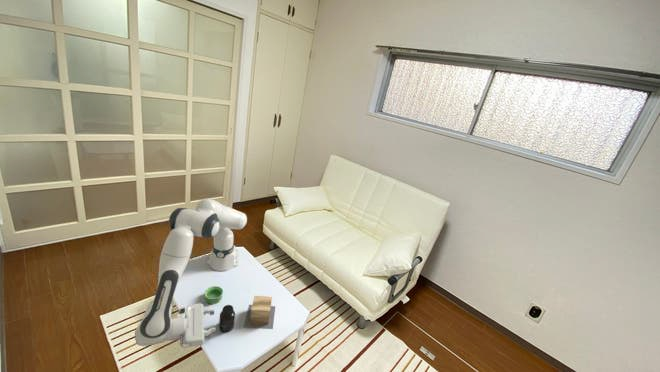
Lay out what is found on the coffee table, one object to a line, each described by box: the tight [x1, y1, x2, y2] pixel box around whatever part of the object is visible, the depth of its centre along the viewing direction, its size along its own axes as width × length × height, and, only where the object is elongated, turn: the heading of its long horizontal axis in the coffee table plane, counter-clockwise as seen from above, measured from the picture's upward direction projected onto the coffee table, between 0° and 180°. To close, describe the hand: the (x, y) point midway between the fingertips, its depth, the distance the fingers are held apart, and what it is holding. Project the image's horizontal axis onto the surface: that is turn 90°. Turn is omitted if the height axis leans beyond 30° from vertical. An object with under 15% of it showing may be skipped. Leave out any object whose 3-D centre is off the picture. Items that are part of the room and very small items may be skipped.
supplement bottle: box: [218, 304, 236, 334], centre depth 126 cm, size 7×7×12 cm
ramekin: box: [204, 285, 224, 305], centre depth 141 cm, size 9×9×4 cm
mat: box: [243, 304, 276, 330], centre depth 137 cm, size 14×14×1 cm
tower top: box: [251, 295, 273, 318], centre depth 134 cm, size 9×9×4 cm
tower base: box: [250, 317, 269, 324], centre depth 136 cm, size 9×9×4 cm
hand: (214, 319), depth 123 cm, fingers open, 8 cm apart
